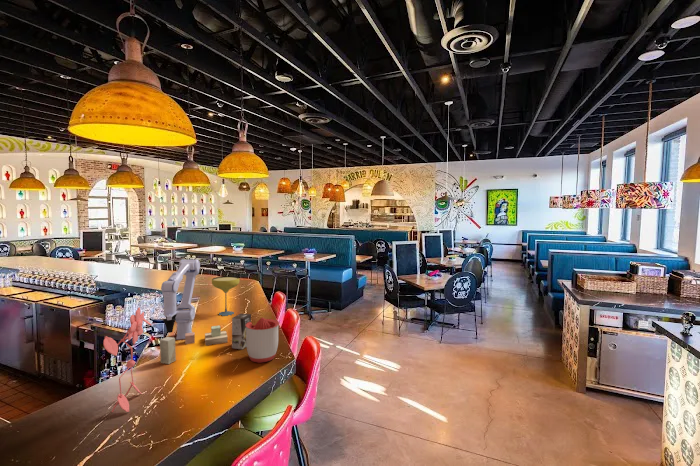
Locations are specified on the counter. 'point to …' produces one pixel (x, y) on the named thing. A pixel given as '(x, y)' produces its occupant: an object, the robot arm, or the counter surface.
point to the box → (167, 350)
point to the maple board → (216, 338)
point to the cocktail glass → (225, 288)
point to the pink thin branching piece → (113, 349)
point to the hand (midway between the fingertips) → (170, 330)
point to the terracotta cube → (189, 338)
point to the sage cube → (215, 331)
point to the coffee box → (239, 330)
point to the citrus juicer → (262, 340)
